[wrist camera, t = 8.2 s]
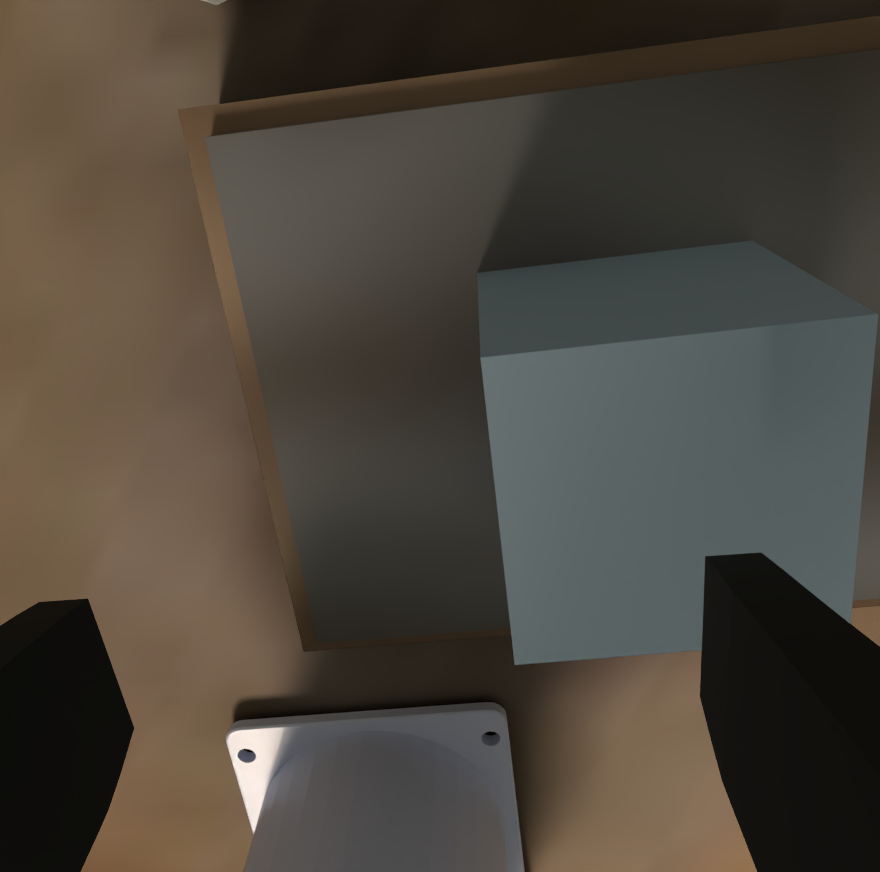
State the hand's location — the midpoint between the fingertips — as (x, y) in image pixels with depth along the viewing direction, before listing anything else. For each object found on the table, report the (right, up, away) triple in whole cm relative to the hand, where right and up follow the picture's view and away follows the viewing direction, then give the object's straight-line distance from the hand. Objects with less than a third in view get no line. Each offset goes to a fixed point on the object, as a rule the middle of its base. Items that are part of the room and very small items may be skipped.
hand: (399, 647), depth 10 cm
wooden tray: (+4, +5, +9) cm, 11 cm away
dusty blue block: (+4, +4, +6) cm, 8 cm away
